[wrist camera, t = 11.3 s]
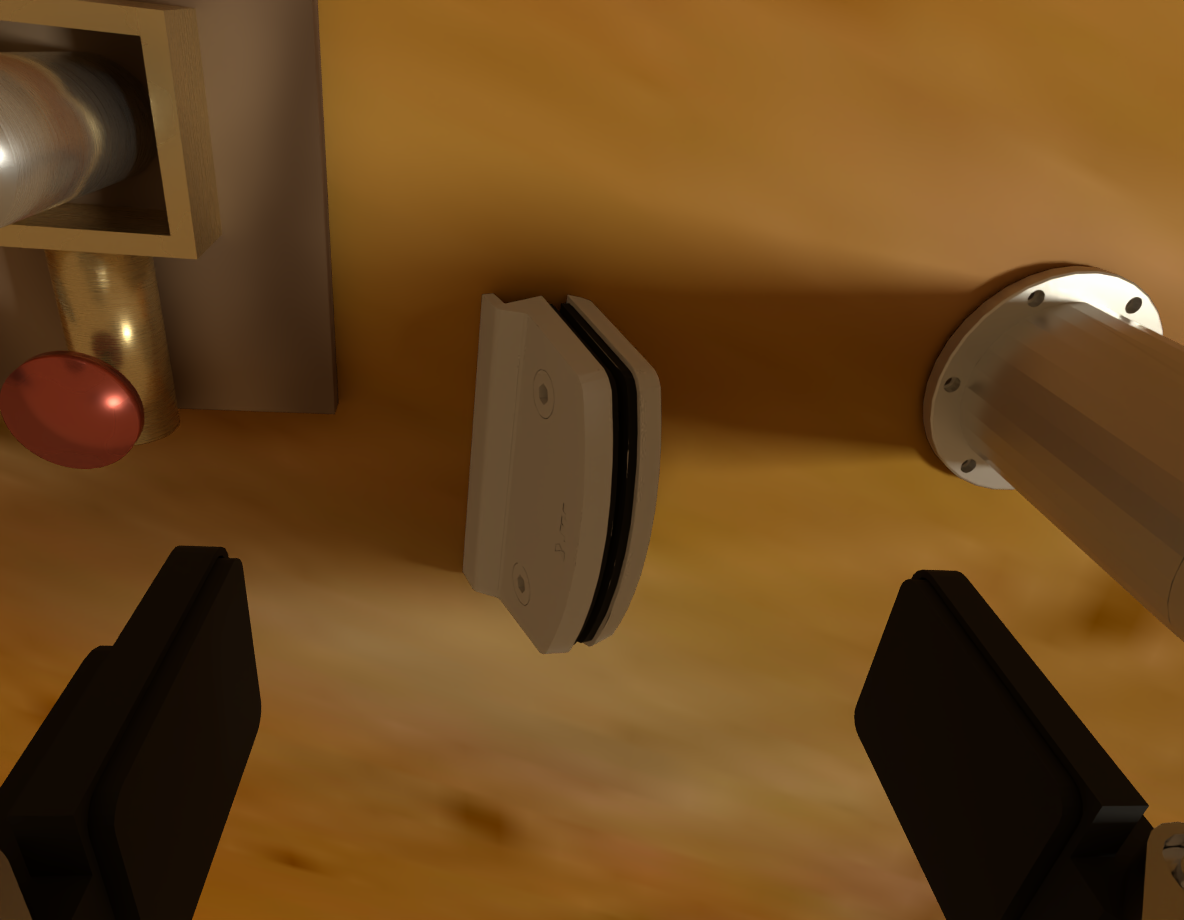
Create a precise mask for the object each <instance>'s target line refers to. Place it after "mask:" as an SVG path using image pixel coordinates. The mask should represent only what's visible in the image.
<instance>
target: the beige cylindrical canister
mask: <svg viewBox="0 0 1184 920" xmlns="http://www.w3.org/2000/svg"><path fill="white" fill-rule="evenodd" d="M157 150H158V149H157V143H156V136H155V130H154V123H153V116H152V110H151V103H150V96H149V94H148V92H147V91H146V89H145V88H144V87H143V85H142V84H141V83H140V82H139V81H138V79H137V78H135V77H134V76H133V75H132V74H131V73H130V72H129V71H128V70H126V69H125V68H124V67H122V66H121V65H119V64H118V63H116V62H114V61H112V60H110V59H108V58H106V57H103V56H101V55H98V54H93V53H89V52H0V228H2V227H5V226H7V225H10V224H12V223H15V222H18V221H20V220H23V219H25V218H28V217H30V216H33V215H35V214H38V213H41V212H43V211H46V210H48V209H51V208H53V207H56V206H59V205H61V204H64V203H66V202H69V201H71V200H74V199H76V198H79V197H82V196H84V195H87V194H89V193H92V192H94V191H97V190H100V189H102V188H105V187H107V186H110V185H112V184H115V183H117V182H120V181H123V180H125V179H128V178H130V177H133V176H135V175H137V174H138V173H140V172H141V171H143V170H144V169H145V168H146V167H147V166H148V165H149V164H150V163H151V161H152V160H153V158H154V157H155V154H156V152H157Z"/></svg>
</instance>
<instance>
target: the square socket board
mask: <svg viewBox="0 0 1184 920" xmlns="http://www.w3.org/2000/svg"><path fill="white" fill-rule="evenodd" d="M0 20H3V21H12V22H21V23H30V24H39V25H47V26H56V27H65V28H74V29H83V30H92V31H101V32H110V33H119V34H128V35H137V36H140V37H141V44H142V50H143V57H144V63H145V70H146V77H147V83H148V90H149V96H150V103H151V110H152V116H153V123H154V130H155V136H156V143H157V149H158V156H159V163H160V169H161V176H162V182H163V189H164V196H165V202H166V209H167V210H158V209H145V208H132V207H119V206H106V205H93V204H80V203H67V202H66V203H64V204H61V205H59V206H56V207H53V208H51V209H48V210H46V211H43V212H41V213H38V214H35V215H33V216H30V217H28V218H25V219H23V220H20V221H18V222H15V223H12V224H10V225H7V226H5V227H2V228H0V246H5V247H20V248H34V249H44V252H45V256H46V260H47V265H48V269H49V273H50V278H51V282H52V286H53V291H54V295H55V299H56V304H57V308H58V312H59V316H60V321H61V325H62V329H63V334H64V338H65V342H66V347H67V351H50V352H45V353H41V354H38V355H36V356H33V357H31V358H30V359H28V360H26V361H25V362H24V363H23V364H22V365H20V366H19V367H18V368H17V369H16V370H14V371H13V372H12V373H11V374H10V375H9V376H8V378H7V379H6V380H5V382H4V384H3V386H2V389H1V392H0V409H1V414H2V416H3V419H4V421H5V423H6V425H7V427H8V429H9V430H10V432H11V433H12V434H13V436H14V437H15V438H16V439H17V440H18V441H19V442H20V443H21V444H22V445H23V446H24V447H26V448H27V449H28V450H30V451H31V452H32V453H34V454H36V455H37V456H39V457H41V458H43V459H45V460H47V461H49V462H52V463H55V464H58V465H61V466H65V467H71V468H79V469H92V468H99V467H103V466H107V465H110V464H112V463H114V462H116V461H118V460H120V459H121V458H122V457H124V456H125V455H126V454H127V453H128V452H129V451H130V450H131V448H132V447H133V445H139V444H145V443H149V442H153V441H156V440H159V439H162V438H164V437H166V436H168V435H170V434H171V433H173V432H174V431H175V430H176V429H177V428H178V426H179V424H180V419H179V413H178V407H177V401H176V395H175V389H174V383H173V376H172V370H171V364H170V358H169V352H168V346H167V340H166V334H165V328H164V322H163V316H162V309H161V303H160V297H159V291H158V285H157V279H156V273H155V267H154V261H153V257H168V258H183V259H198V258H199V257H200V256H201V255H202V254H203V253H204V252H205V251H206V250H207V249H208V248H209V247H210V246H211V245H212V244H213V243H214V242H215V241H216V240H217V239H218V238H219V237H220V236H221V235H222V227H221V219H220V211H219V202H218V194H217V185H216V177H215V169H214V160H213V152H212V143H211V135H210V126H209V118H208V110H207V101H206V93H205V84H204V76H203V67H202V59H201V51H200V42H199V34H198V25H197V17H196V9H195V8H189V7H180V6H172V5H164V4H155V3H147V2H138V1H130V0H0Z"/></svg>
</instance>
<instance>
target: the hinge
mask: <svg viewBox="0 0 1184 920" xmlns="http://www.w3.org/2000/svg"><path fill="white" fill-rule="evenodd" d="M660 453H661V386H660V381H659V378H658V375H657V373H656V371H655V369H654V368H653V367H652V366H651V365H650V364H649V363H648V362H647V360H646V359H645V358H644V357H643V356H642V355H641V354H640V353H639V352H638V351H637V350H636V349H635V348H634V347H633V345H632V344H631V343H630V342H629V341H628V340H627V339H626V338H625V337H624V336H623V335H622V334H621V333H620V332H619V330H618V329H617V328H616V327H615V326H614V325H613V324H612V323H611V322H610V321H609V320H608V319H607V318H606V317H605V315H604V314H603V313H602V312H601V311H600V310H599V309H598V308H597V307H596V306H595V305H594V304H593V303H592V301H590V300H587V299H584V298H581V297H576V296H571V295H568V296H567V302H566V303H563V304H561V309H560V312H559V311H558V310H557V309H556V308H555V307H554V305H553V304H548V302H547V301H546V300H545V299H544V298H543V297H542V296H538V297H533V298H528V299H524V300H519V301H515V302H510V303H506V304H505V303H503V302H502V301H501V300H500V299H499V298H498V297H497V296H496V295H494V294H493V293H491V294H482V303H481V317H480V332H479V346H478V360H477V374H476V389H475V403H474V417H473V431H472V445H471V460H470V474H469V488H468V502H467V517H466V531H465V545H464V559H463V573H464V575H465V576H466V578H467V580H468V581H469V583H470V585H471V587H472V588H473V589H474V590H475V591H477V592H480V593H483V594H487V595H490V596H494V597H497V598H499V599H500V600H501V601H502V603H503V604H504V605H505V607H506V608H507V609H508V611H509V612H510V613H511V615H512V616H513V617H514V619H515V620H516V621H517V623H518V624H519V625H520V627H521V628H522V629H523V631H524V632H525V633H526V635H527V636H528V637H529V639H530V640H531V641H532V643H533V644H534V645H535V647H536V648H537V649H538V651H539V652H540V653H542V654H550V653H566V652H569V651H570V650H571V648H572V646H573V645H574V644H575V643H576V642H577V641H578V642H580V643H582V642H583V643H584V644H586V645H587V646H593V645H595V644H596V643H598V642H600V641H602V640H604V639H605V638H607V637H609V636H611V635H612V634H613V633H614V631H615V630H616V628H617V627H618V625H619V624H620V622H621V620H622V618H623V616H624V615H625V613H626V611H627V609H628V607H629V604H630V602H631V600H632V597H633V595H634V592H635V590H636V587H637V584H638V581H639V579H640V576H641V572H642V569H643V565H644V561H645V558H646V553H647V549H648V545H649V541H650V536H651V531H652V525H653V520H654V514H655V506H656V498H657V489H658V480H659V470H660Z"/></svg>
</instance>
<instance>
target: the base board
mask: <svg viewBox="0 0 1184 920" xmlns="http://www.w3.org/2000/svg"><path fill="white" fill-rule="evenodd" d="M130 1H138V2H147V3H155V4H164V5H172V6H180V7H189V8H195V9H196V17H197V25H198V34H199V42H200V51H201V59H202V67H203V76H204V84H205V93H206V101H207V110H208V118H209V126H210V135H211V143H212V152H213V160H214V169H215V177H216V185H217V194H218V202H219V211H220V219H221V227H222V235H221V236H220V237H219V238H218V239H217V240H216V241H215V242H214V243H213V244H212V245H211V246H210V247H209V248H208V249H207V250H206V251H205V252H204V253H203V254H202V255H201V256H200V257H199V258H198V259H183V258H168V257H153V261H154V267H155V273H156V279H157V285H158V291H159V297H160V303H161V309H162V316H163V322H164V328H165V334H166V340H167V346H168V352H169V358H170V364H171V370H172V376H173V383H174V389H175V395H176V401H177V407H178V408H182V409H209V410H236V411H263V412H291V413H318V414H335V412H336V409H337V405H338V386H337V367H336V348H335V329H334V309H333V290H332V271H331V251H330V232H329V213H328V194H327V174H326V155H325V136H324V117H323V97H322V78H321V59H320V40H319V20H318V1H317V0H130ZM0 52H89V53H93V54H98V55H101V56H103V57H106V58H108V59H110V60H112V61H114V62H116V63H118V64H119V65H121V66H122V67H124V68H125V69H126V70H128V71H129V72H130V73H131V74H132V75H133V76H134V77H135V78H137V79H138V81H139V82H140V83H141V84H142V85H143V87H144V88H145V89H146V91H147V92H148V94H149V90H148V83H147V77H146V70H145V63H144V57H143V50H142V44H141V37H140V36H137V35H128V34H119V33H110V32H101V31H92V30H83V29H74V28H65V27H56V26H47V25H39V24H30V23H21V22H12V21H3V20H0ZM67 203H80V204H93V205H106V206H119V207H132V208H145V209H158V210H167V209H166V202H165V196H164V189H163V182H162V176H161V169H160V163H159V156H158V150H157V152H156V154H155V157H154V158H153V160H152V161H151V163H150V164H149V165H148V166H147V167H146V168H145V169H144V170H143V171H141V172H140V173H138V174H137V175H135V176H133V177H130V178H128V179H125V180H123V181H120V182H117V183H115V184H112V185H110V186H107V187H105V188H102V189H100V190H97V191H94V192H92V193H89V194H87V195H84V196H82V197H79V198H76V199H74V200H71V201H69V202H67ZM50 351H67V347H66V342H65V338H64V334H63V329H62V325H61V321H60V316H59V312H58V308H57V304H56V299H55V295H54V291H53V286H52V282H51V278H50V273H49V269H48V265H47V260H46V256H45V252H44V249H34V248H20V247H5V246H0V392H1V389H2V386H3V384H4V382H5V380H6V379H7V378H8V376H9V375H10V374H11V373H12V372H13V371H14V370H16V369H17V368H18V367H19V366H20V365H22V364H23V363H24V362H25V361H26V360H28V359H30V358H31V357H33V356H36V355H38V354H41V353H45V352H50Z"/></svg>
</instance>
